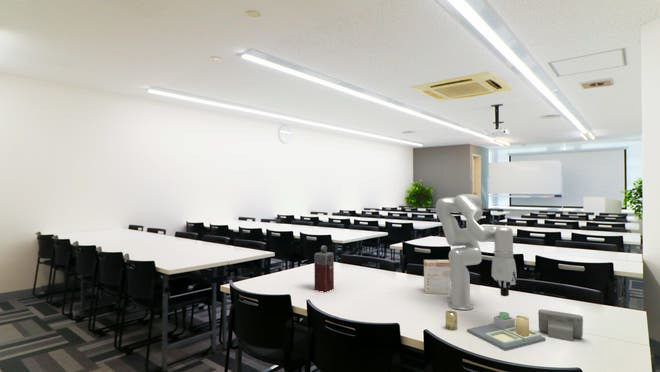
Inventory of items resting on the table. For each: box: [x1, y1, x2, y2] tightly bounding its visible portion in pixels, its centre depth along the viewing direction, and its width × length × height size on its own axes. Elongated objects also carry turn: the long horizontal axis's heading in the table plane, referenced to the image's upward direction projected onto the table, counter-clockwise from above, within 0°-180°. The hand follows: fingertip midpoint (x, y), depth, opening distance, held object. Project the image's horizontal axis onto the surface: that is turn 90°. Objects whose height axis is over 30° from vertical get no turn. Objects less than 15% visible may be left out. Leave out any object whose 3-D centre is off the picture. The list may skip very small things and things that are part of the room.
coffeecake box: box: [423, 259, 451, 295], centre depth 215 cm, size 15×7×20 cm, turn 84°
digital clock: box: [537, 308, 584, 342], centre depth 151 cm, size 16×9×11 cm, turn 46°
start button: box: [498, 311, 510, 320], centre depth 158 cm, size 4×4×4 cm
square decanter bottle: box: [313, 245, 335, 293], centre depth 221 cm, size 9×11×28 cm
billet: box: [445, 310, 458, 331], centre depth 160 cm, size 5×5×7 cm
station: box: [466, 315, 546, 351], centre depth 151 cm, size 20×23×8 cm
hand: (504, 295), depth 158 cm, fingers closed
